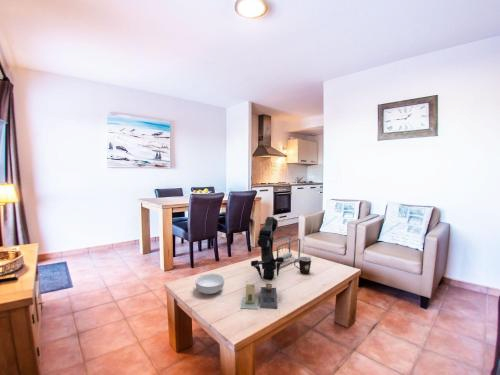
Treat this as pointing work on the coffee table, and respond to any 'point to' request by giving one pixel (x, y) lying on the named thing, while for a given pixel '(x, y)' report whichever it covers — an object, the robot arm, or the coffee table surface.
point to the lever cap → (250, 293)
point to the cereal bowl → (210, 283)
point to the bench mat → (249, 306)
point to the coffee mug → (304, 265)
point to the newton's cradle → (285, 256)
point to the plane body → (268, 297)
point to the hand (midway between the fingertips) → (269, 277)
